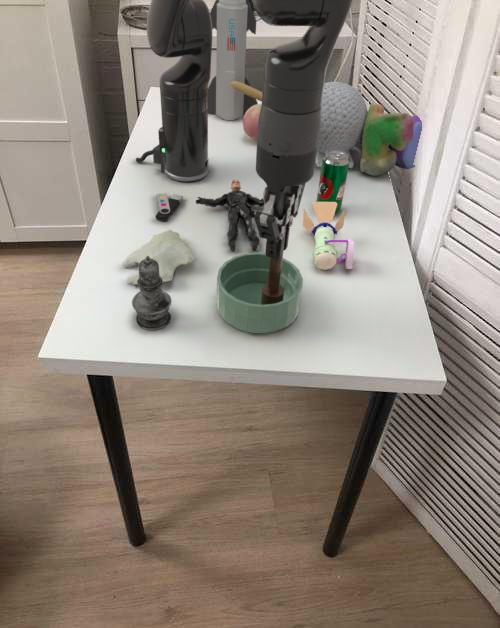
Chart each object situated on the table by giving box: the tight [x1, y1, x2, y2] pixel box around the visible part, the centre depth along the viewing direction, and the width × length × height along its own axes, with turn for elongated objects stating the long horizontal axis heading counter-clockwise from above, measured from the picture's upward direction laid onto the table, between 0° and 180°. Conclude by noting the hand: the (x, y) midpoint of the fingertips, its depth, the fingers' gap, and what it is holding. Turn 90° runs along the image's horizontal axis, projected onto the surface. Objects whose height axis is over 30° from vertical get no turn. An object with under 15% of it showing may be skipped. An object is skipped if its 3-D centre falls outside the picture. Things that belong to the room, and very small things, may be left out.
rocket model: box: [208, 0, 259, 121], centre depth 132 cm, size 14×7×30 cm, turn 91°
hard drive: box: [315, 149, 355, 169], centre depth 128 cm, size 2×8×12 cm
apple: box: [242, 103, 262, 141], centre depth 130 cm, size 8×8×8 cm
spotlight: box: [302, 201, 355, 271], centre depth 99 cm, size 12×8×8 cm
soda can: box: [315, 149, 350, 216], centre depth 107 cm, size 5×5×12 cm
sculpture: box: [359, 102, 415, 176], centre depth 118 cm, size 15×8×10 cm
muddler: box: [261, 224, 286, 305], centre depth 82 cm, size 3×3×15 cm
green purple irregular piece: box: [358, 111, 422, 170], centre depth 132 cm, size 13×12×30 cm
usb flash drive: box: [154, 192, 184, 222], centre depth 108 cm, size 9×5×1 cm, turn 163°
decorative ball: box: [317, 81, 368, 154], centre depth 122 cm, size 15×15×15 cm
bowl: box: [216, 251, 304, 334], centre depth 87 cm, size 13×13×6 cm
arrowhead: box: [121, 229, 196, 286], centre depth 95 cm, size 12×3×15 cm
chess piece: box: [131, 256, 173, 332], centre depth 82 cm, size 6×6×12 cm
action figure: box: [195, 179, 264, 252], centre depth 106 cm, size 16×4×20 cm
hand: (276, 252), depth 80 cm, fingers closed on muddler, 2 cm apart
